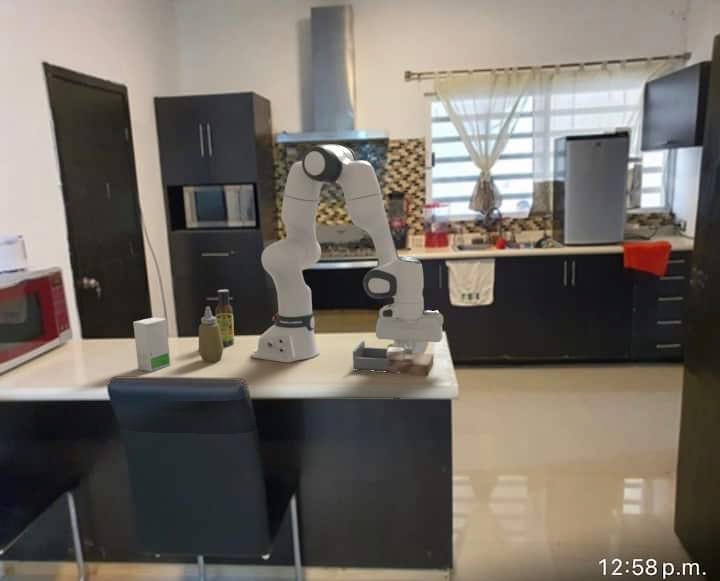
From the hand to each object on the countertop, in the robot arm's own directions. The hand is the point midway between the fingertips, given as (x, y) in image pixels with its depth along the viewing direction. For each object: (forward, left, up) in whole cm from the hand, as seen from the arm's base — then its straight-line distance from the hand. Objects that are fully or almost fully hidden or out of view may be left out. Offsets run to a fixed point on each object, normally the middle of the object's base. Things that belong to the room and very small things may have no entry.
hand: (409, 353), depth 173 cm
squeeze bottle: (-65, -5, -5) cm, 66 cm away
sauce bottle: (-69, +12, -5) cm, 71 cm away
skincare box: (-80, -15, -5) cm, 82 cm away
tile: (-4, 0, -1) cm, 4 cm away
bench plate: (+1, 0, -4) cm, 5 cm away
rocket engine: (-3, +17, -5) cm, 18 cm away
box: (-10, 0, -4) cm, 11 cm away
